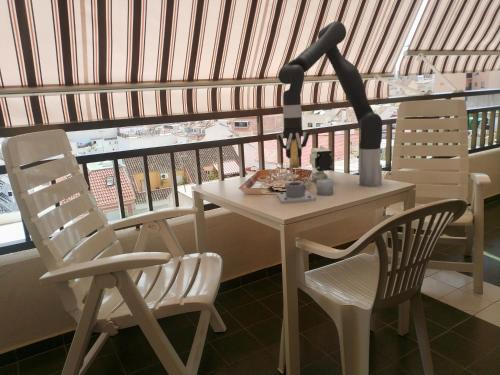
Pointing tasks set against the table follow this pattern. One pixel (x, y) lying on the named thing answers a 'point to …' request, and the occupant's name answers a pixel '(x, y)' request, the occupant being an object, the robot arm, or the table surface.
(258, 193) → the table surface
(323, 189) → the grey wide stub
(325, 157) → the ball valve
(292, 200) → the flange coupling
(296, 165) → the cylinder
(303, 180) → the plant saucer
